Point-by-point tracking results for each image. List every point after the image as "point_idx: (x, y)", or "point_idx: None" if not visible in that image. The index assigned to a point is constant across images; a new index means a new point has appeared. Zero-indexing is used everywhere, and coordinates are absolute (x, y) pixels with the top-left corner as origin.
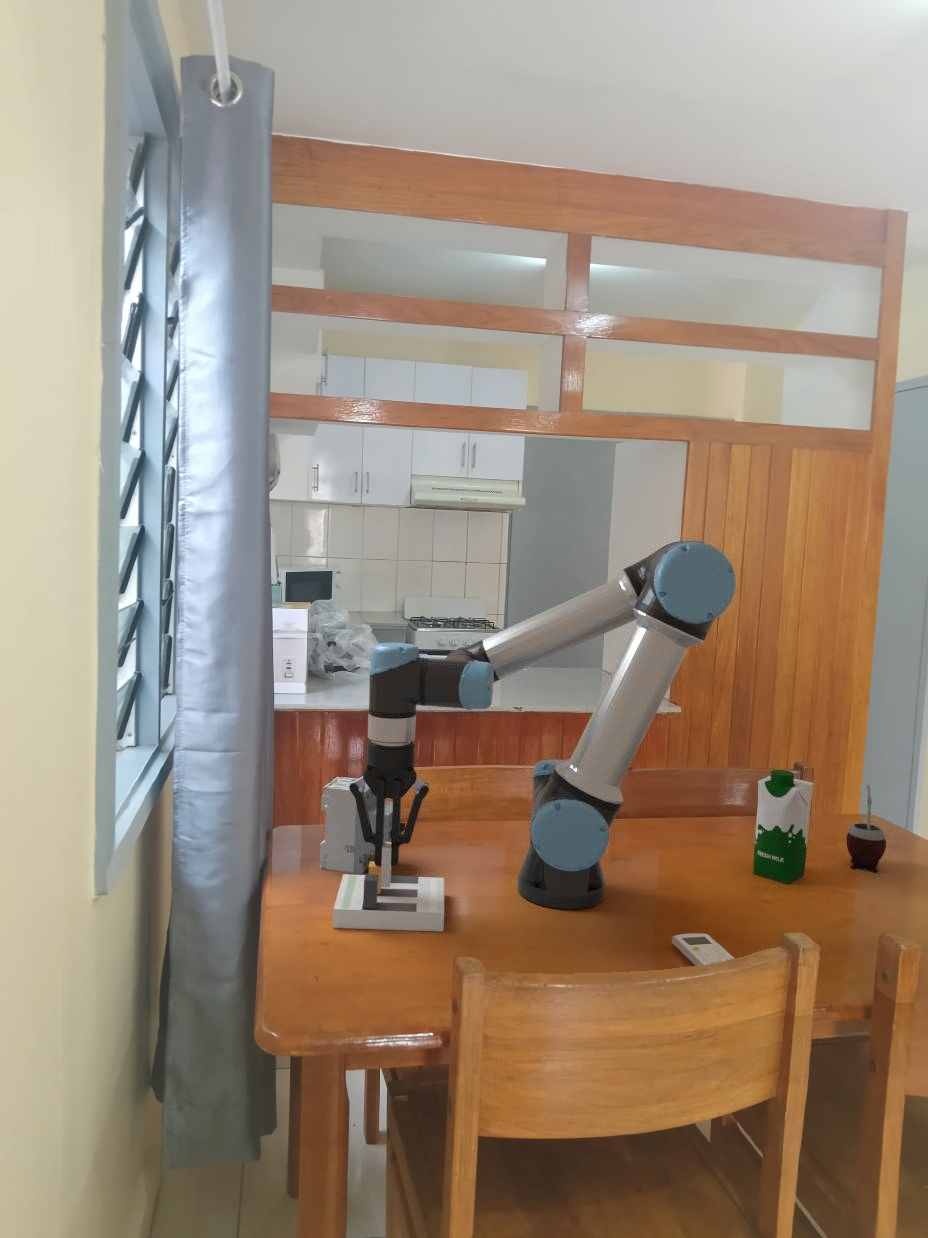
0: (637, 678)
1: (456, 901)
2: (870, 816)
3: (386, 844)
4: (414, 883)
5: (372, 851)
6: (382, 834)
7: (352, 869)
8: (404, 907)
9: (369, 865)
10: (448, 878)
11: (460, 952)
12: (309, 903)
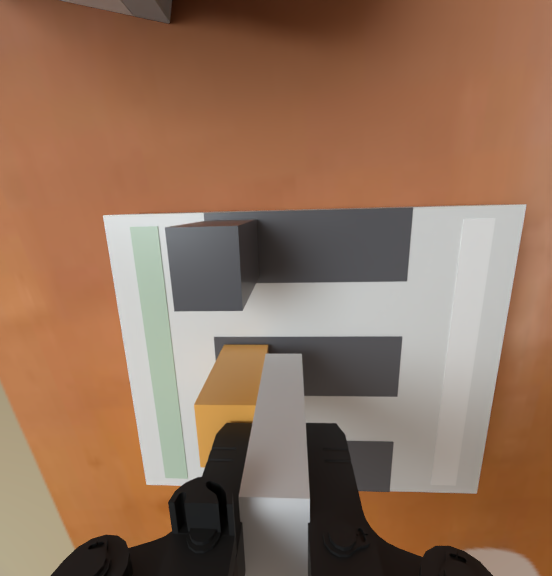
0: None
1: (520, 252)
2: None
3: (269, 539)
4: (392, 282)
5: (180, 262)
6: None
7: (121, 6)
8: (353, 469)
9: (200, 453)
10: (530, 18)
11: (475, 534)
12: (67, 309)
